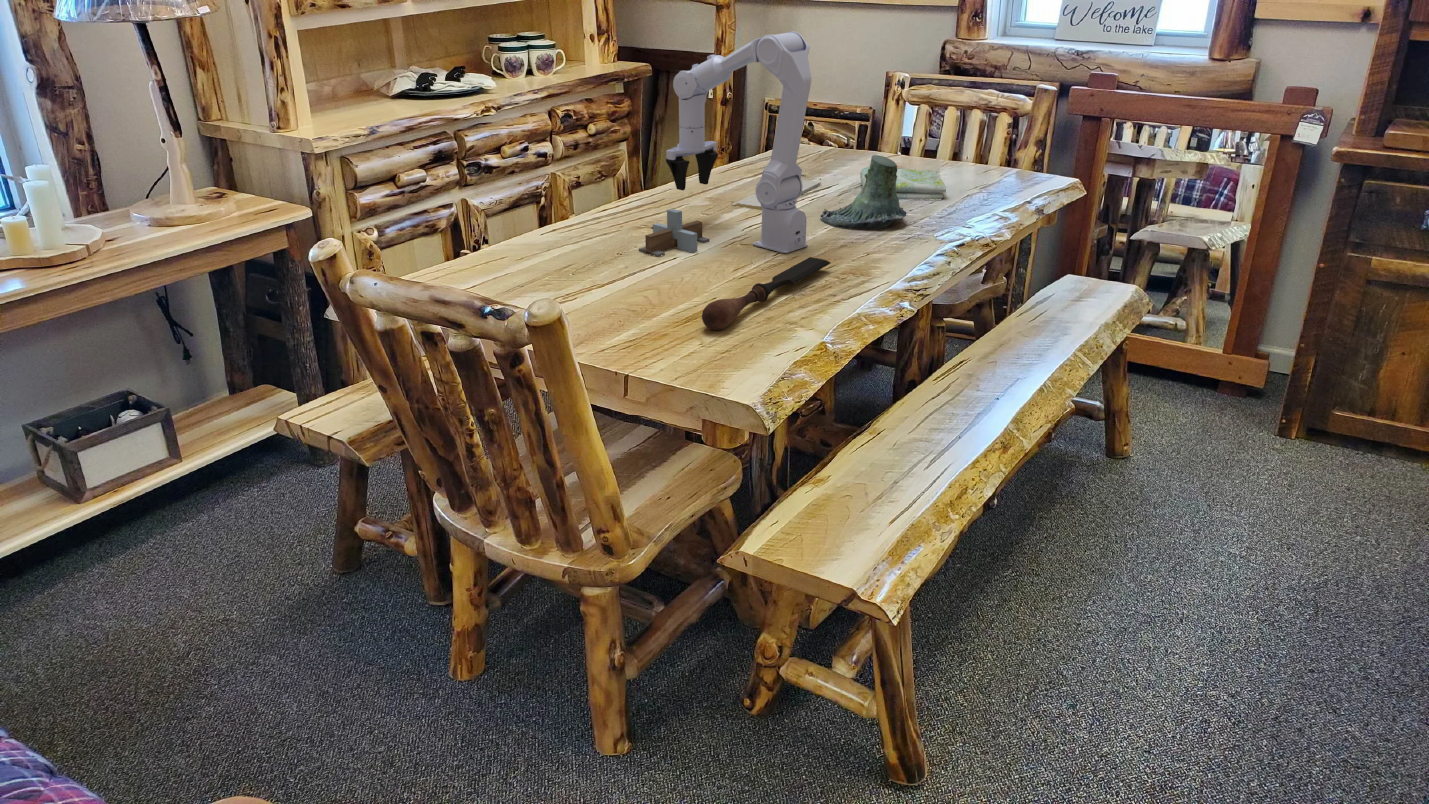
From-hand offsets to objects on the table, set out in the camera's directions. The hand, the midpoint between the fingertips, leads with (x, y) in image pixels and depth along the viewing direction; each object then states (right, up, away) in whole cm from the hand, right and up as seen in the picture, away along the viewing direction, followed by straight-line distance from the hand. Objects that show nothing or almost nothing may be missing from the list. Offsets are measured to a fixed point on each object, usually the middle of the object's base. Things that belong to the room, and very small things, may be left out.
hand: (692, 186), depth 234 cm
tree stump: (+41, -6, +10) cm, 42 cm away
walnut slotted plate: (-4, -15, -10) cm, 19 cm away
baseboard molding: (+21, +4, +32) cm, 38 cm away
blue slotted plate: (-4, -15, -10) cm, 19 cm away
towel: (+55, +6, +36) cm, 66 cm away
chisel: (+15, -30, -41) cm, 53 cm away
